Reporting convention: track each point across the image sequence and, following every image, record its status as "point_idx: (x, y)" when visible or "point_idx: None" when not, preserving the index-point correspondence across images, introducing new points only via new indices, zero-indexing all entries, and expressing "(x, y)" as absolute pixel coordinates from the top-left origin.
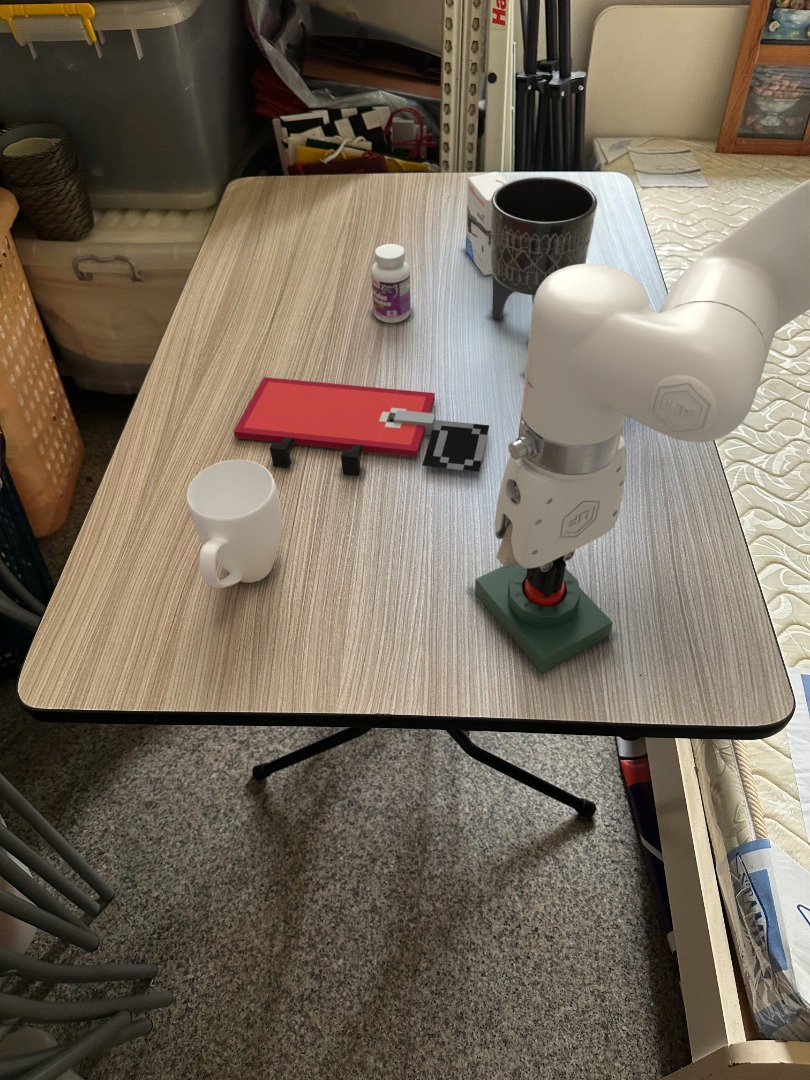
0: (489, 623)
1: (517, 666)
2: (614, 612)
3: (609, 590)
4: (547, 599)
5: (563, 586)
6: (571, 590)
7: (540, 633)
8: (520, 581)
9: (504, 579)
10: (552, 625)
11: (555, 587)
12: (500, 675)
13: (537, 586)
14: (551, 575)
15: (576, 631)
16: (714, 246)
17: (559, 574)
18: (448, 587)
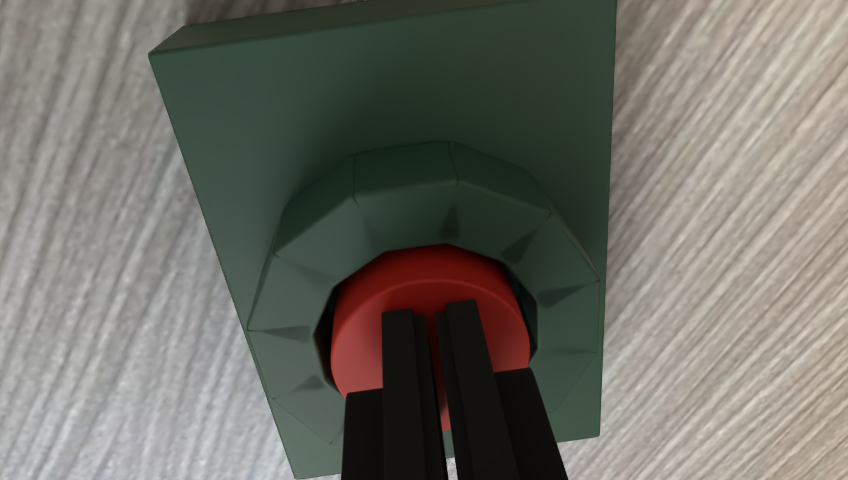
0: (607, 263)
1: (641, 50)
2: (105, 133)
3: (87, 235)
4: (473, 287)
5: (348, 326)
6: (306, 291)
7: (533, 138)
8: None
9: None
10: (468, 153)
11: (424, 340)
12: (729, 38)
13: (531, 379)
14: (508, 451)
15: (363, 81)
16: None
17: (421, 430)
18: (633, 416)
